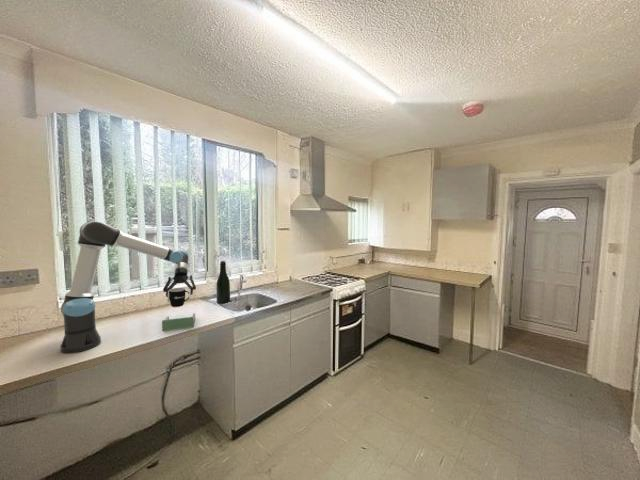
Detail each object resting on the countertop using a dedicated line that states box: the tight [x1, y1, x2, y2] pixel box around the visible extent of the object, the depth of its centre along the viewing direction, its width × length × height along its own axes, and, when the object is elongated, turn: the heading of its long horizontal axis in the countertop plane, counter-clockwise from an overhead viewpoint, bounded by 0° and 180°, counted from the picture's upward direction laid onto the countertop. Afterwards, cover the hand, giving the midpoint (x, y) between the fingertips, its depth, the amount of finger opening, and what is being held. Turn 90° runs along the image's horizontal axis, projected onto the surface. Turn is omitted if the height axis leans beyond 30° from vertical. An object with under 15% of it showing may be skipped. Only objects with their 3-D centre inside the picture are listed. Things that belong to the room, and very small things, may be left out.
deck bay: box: [161, 313, 196, 332], centre depth 162 cm, size 16×16×6 cm
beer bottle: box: [215, 260, 231, 304], centre depth 209 cm, size 10×10×33 cm
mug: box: [169, 287, 189, 308], centre depth 163 cm, size 12×9×10 cm
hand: (179, 300), depth 160 cm, fingers closed on mug, 11 cm apart
